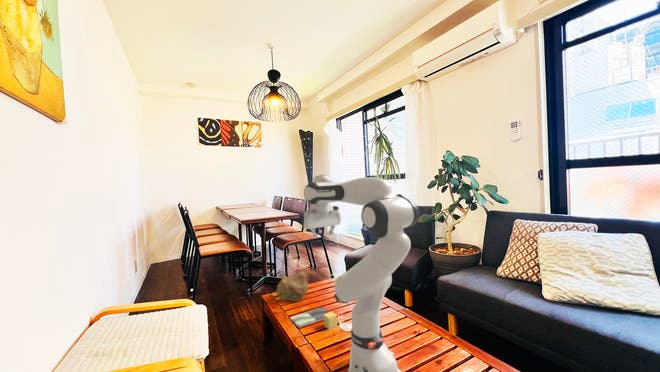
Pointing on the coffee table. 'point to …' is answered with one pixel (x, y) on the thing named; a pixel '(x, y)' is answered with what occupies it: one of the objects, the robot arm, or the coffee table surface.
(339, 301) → the dark grey rock
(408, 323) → the coffee table surface
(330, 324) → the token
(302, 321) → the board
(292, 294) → the rough brown rock
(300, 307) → the coffee table surface
